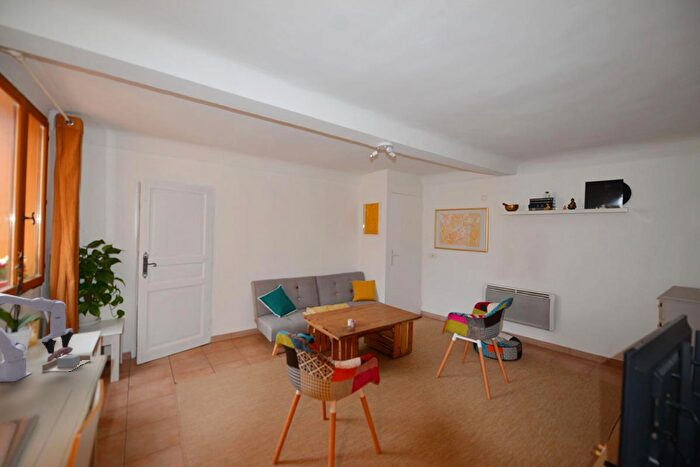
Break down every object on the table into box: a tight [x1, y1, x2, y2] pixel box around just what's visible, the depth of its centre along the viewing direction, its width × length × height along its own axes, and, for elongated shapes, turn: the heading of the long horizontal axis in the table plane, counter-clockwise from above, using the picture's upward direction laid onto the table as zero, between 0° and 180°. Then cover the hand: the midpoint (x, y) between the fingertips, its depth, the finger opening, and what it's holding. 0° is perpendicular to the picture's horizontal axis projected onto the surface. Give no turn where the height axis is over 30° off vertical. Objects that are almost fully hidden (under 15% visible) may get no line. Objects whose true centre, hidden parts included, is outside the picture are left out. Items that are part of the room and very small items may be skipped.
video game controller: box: [47, 345, 74, 362], centre depth 168 cm, size 10×5×7 cm, turn 169°
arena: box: [41, 354, 91, 373], centre depth 158 cm, size 14×12×4 cm
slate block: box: [57, 354, 81, 368], centre depth 157 cm, size 4×8×5 cm, turn 91°
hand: (58, 350), depth 155 cm, fingers open, 7 cm apart
